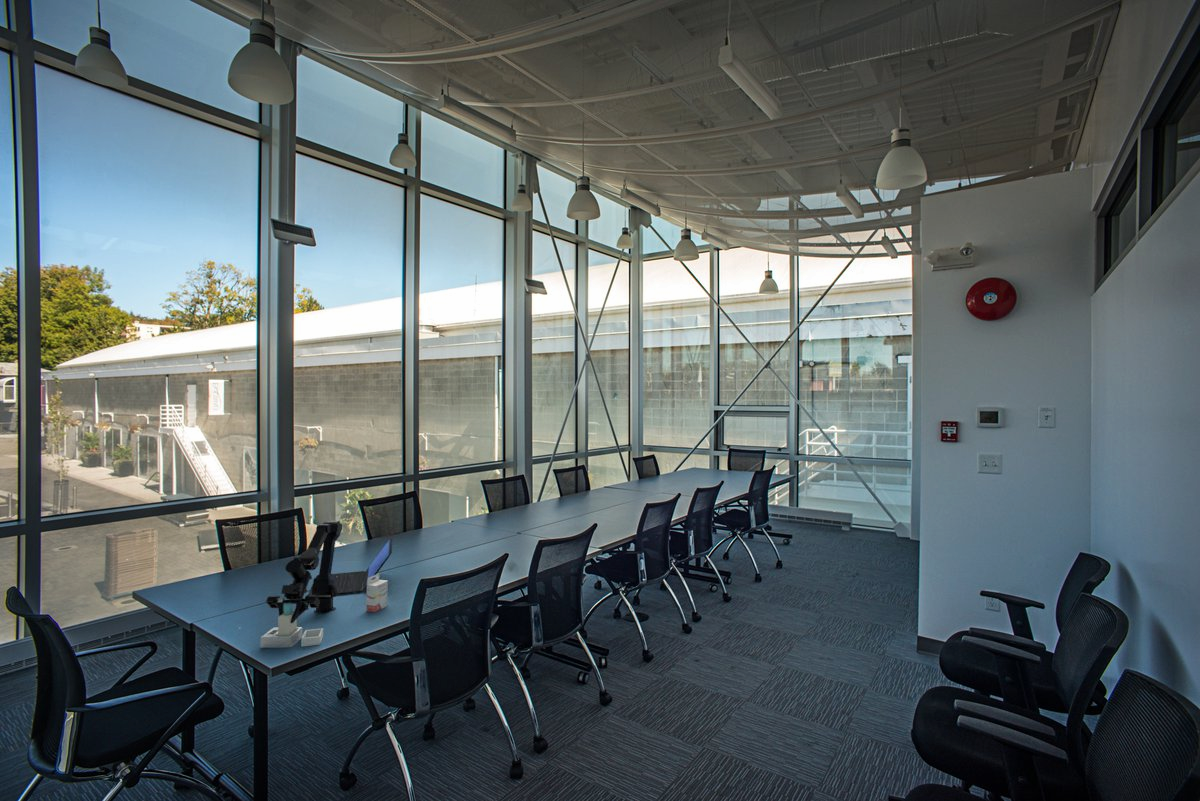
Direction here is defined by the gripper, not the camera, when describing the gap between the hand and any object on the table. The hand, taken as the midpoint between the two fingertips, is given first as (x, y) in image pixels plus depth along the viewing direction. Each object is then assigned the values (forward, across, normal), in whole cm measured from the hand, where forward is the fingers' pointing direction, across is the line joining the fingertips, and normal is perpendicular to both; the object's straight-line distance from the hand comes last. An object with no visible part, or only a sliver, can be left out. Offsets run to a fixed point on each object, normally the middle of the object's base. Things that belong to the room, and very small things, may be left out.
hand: (285, 623), depth 219 cm
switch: (+5, -2, +7) cm, 8 cm away
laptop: (-44, -2, +56) cm, 72 cm away
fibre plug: (+4, 0, +6) cm, 7 cm away
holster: (+4, +9, +7) cm, 12 cm away
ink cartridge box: (-20, +22, +31) cm, 43 cm away
